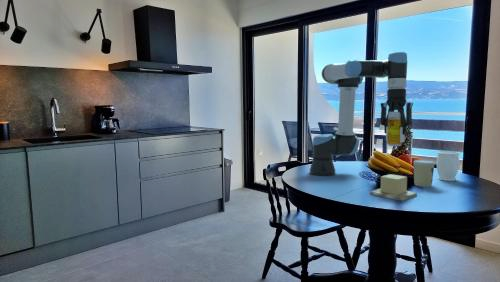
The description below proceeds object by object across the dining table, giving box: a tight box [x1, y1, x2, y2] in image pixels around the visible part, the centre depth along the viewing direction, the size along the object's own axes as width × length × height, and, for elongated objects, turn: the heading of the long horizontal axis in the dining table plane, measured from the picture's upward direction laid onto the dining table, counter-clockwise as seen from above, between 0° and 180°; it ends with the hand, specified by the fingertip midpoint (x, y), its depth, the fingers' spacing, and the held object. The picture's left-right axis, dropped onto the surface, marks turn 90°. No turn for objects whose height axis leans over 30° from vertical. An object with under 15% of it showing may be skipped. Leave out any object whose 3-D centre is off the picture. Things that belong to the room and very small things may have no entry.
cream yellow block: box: [380, 174, 408, 195], centre depth 149 cm, size 8×8×7 cm
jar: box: [435, 150, 460, 182], centre depth 178 cm, size 11×10×15 cm
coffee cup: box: [413, 159, 435, 188], centre depth 167 cm, size 9×9×12 cm
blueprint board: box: [370, 187, 418, 202], centre depth 149 cm, size 15×13×1 cm
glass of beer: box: [386, 111, 403, 147], centre depth 147 cm, size 6×6×15 cm
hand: (395, 141), depth 147 cm, fingers closed on glass of beer, 6 cm apart
